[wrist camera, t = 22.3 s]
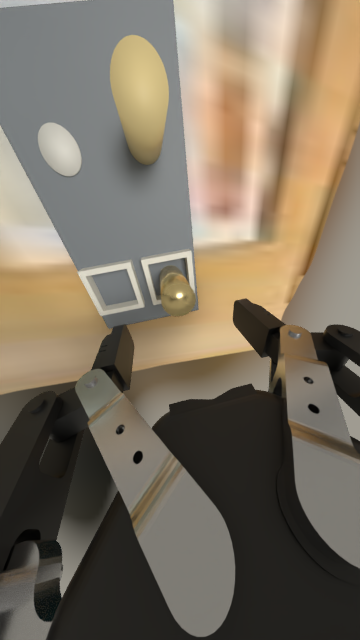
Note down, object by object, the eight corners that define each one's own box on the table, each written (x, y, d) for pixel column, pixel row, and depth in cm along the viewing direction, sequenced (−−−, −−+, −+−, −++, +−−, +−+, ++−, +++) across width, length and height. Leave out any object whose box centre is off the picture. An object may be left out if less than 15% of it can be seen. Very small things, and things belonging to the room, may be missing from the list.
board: (110, 323, 24) (96, 358, 17) (-34, 38, 10) (-329, -255, 4) (196, 305, 24) (211, 333, 18) (169, 19, 11) (195, -251, 5)
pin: (164, 291, 20) (167, 320, 14) (156, 269, 19) (156, 290, 12) (184, 284, 20) (199, 310, 13) (178, 261, 19) (191, 278, 12)
